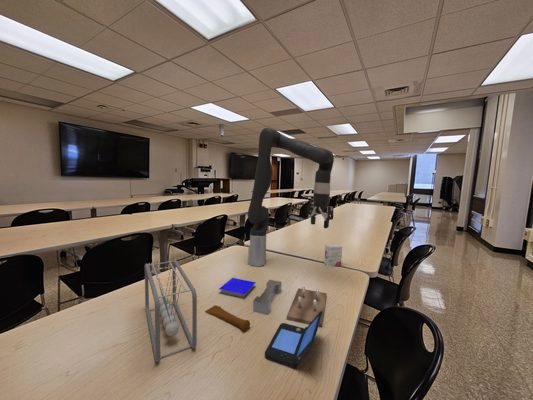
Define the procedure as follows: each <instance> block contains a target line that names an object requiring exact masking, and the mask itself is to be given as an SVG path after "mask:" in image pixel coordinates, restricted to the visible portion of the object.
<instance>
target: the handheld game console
mask: <svg viewBox="0 0 533 400" xmlns="http://www.w3.org/2000/svg"><path fill="white" fill-rule="evenodd" d="M321 316H322V311H320V312H319V314H318V315H317V316H316V317H315V318H314V320H313V321H312V322H311V323H310V324H308V325H307V326H305V327H301V326H297V325H294V324H289V323H286V322H281V323H280V324H279V326H278V328H277V329H276V331H275V333H274V335H273V337H272V339H271V340H270V341H269V344H268V346H267V348H266V349H265V351H264V357H265V359H267V360H268V361H269V360H270V361H272V362H275V363H278V364H280V365H283V366H287V367H289V368H293V369H294V370H296V369H297V368H298V365H299V361H300V360H301V359H302V358H303V357H304V355H305V354H306V353H307V352H308V351H309V350H310V349H311V347H312V346H313V345H314V344H315V340H316V337H317V334H318V330H319V327H318V326H319V323H320V320H321Z"/></svg>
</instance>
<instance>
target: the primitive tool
mask: <svg viewBox="0 0 533 400" xmlns="http://www.w3.org/2000/svg"><path fill="white" fill-rule="evenodd" d="M204 313H206V314H208V315H210V316H213V317H215V318H217V319H220V320H222V321H225V322H226V323H229V324H232V325H234V326H236V327H238V328H240V329H241V331H242V332H244V333H245V332H247V331H248V330H249V329H250V327H251V322H250V320H249V319H243V318H240V317H239V316H238V317H237V316H236V315H234V314H232V313H230V312H228V311H226V310H225V309H224V308H222V307H221V306H220V305H216V304H215V305H213V306H211V307H209V309H206V310H205V311H204Z"/></svg>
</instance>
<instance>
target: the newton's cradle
mask: <svg viewBox="0 0 533 400" xmlns="http://www.w3.org/2000/svg"><path fill="white" fill-rule="evenodd" d="M162 264H163V265H164V264H169V265H170V267H169V266H168V267H165V269H166V268H170V269H169V271H167V273H169V275H168V276H165V278H167V277H168V278H167V280H166V283H167V285H166V287H163V285H162V284H163V283H164V281H162V282H161V280H160V279H161V278H163V276H162V277H159V272H157V268H155V266H156V265H162ZM150 266H152V268H153V271H154V274H155V277H156V280H157V282H158V287H159V291H160V294H161V295H160V296H159V294H158V291H157V288H156V284H155V282H154V277H153V275H152V272H151V269H150ZM160 269H161V270H162V269H163V267H160V268H159V270H160ZM176 269H177V271H178V272H179V274H180V275H181V277H182V278H183V280H184V281H185V284H186V285H187V287H188V288H189V289H186V287H185V285H184V284H183V282H182V280H181V279H180V276H179V274H178V273H177V272H176ZM171 272H172V273H171ZM162 273H165V271H162V272H161V274H162ZM170 277H171V279H170ZM169 279H170V280H169ZM170 281H171V282H170ZM169 282H170V284H169ZM178 283H180V284H179V289H178V291H177V288H178V287H177V286H178V285H177V284H178ZM168 285H169V286H168ZM171 285H172V286H171ZM181 286H182V288H183V289H184V290H183V291H181ZM149 287H150V289H151V293H152V297H153V301H154V308H150V299H149V298H150V297H149V296H150V293H149V291H150V290H149ZM168 288H169V289H168ZM171 288H172V290H171V291H172V293H170V289H171ZM164 289H165V291H164ZM167 289H168V294H167ZM189 292H190V293H191V296H192V297H191V298H192V304H191V305H192V306H191V307H192V308H191V309H192V312H191V313H192V315H191V316H192V328H191V329H192V333H190V329H189V328H188V325H187V323H186V320H185V319H184V316H183V314H182V312H181V309H180V307H179V305H178V302H179V299H177V298H179V296H180V294H184V293H189ZM176 296H177V297H176ZM197 296H198V295H197V290H196V288H195V286H194V285H193V284H192V282H191V280H190V279H189V278H188V276H187V274H186V272H184V270H183V267H181V265H180V264H179V262H178V261H177V259H173V260H170V261H165V262H157V263H151V264H150V263H149V264H148V263H145V264H144V299H145V300H144V301H145V302H144V305H145V306H144V308H145V312H146V313H145V314H146V318H147V323H148V330H149V335H150V340H151V341H150V342H151V344H152V350H153V351H152V352H153V357H154V362H156V363H158V362H160V360H161V358H163V357H166V356H168V355H172V354H174V353H177V352H180V351H182V350H186V349H188V348H191V349H193V350H194V349H195V348H196V347H197V344H198V342H197V341H198V340H197V336H198V335H197V334H198V333H197V332H198V331H197V330H198V329H197V327H198V326H197V322H198V320H197V317H198V315H197V314H198V313H197V311H198V308H197V307H198V306H197V305H198V302H197V301H198V299H197V298H198V297H197ZM169 297H170V299H169ZM171 302H173V303H171ZM173 308H175V310H173ZM153 310H154V324H153V321H152V315H151V311H153ZM176 314H177V316H178V318H179V321H180V323H181V326H182V328H183V330H184V333H185V335H186V338H187V340H188V343H189V345H186V346H185V347H181V348H178V349H175V350H173V351H171V352H168V353H165V354H161V320H162V321H163V322H162V323H163V327H164V328H165V329H164V330H165V331H164V332H165V334H166V335H167V336H169V337H174V336H176V334H178V332H179V329H180V325H179V323H178V322H177V318H176ZM153 325H154V326H153ZM154 329H155V330H154Z"/></svg>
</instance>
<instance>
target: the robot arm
mask: <svg viewBox="0 0 533 400" xmlns="http://www.w3.org/2000/svg"><path fill="white" fill-rule="evenodd" d="M258 136H259V139H258V155H257V161H256V169H255V174H254V183H253V187H252V188H253V189H252V193H251V198H250V202H249V207H248V211H247V219H248V221H249V222H250V223H251V224H253V226H252V227H251V228H250V230H249V247H248V253H247V254H248V255H247V259H248V260H247V264H248V265H250V264H251V265H250V266H252V265H253V266H252V267H257V266H259V267H263V266H262V265H264V264H265V265H266V261H267V260H266V258H267V257H266V256H267V233H268V232H267V231H268V229H269V222H270V221H269V217H270V213H269V210H268V208H267V207H266V206H265V205H264V206H263V201H264V198H265V196H266V195H267V193H268V191H269V190H270V188H271V184H272V181H273V173H274V172H273V166H272V161H271V152H272V148H275V149H277V148H278V149H282V150H285V151H288V152H289V153H291V154H294V155H296V156H298V157H301V158H303V159H306V160H309V161H312V162H314V163H316V164H318V169H317V170H316V172H315V175H314V176H315V178H314V185H313V194H312V195H313V196H312V202H309V203H308V210H307V211H308V213H307V215H308V216H310V224H311V225H316V219H317V217H316V216H317V215H321V216H322V217H323V228H324V229H329V225H330V221H331V220H332V221H333V219H334V211H335V210H334V208H335V207H334V206H330V205H329V203H330V197H331V178H332V177H331V174H332V170H333V166H334V162H335V160H334V159H335V158H334V157H335V155H334V153H333V152H332V151H331V150H329V149H326V148H323V147H319V146H315V145H313V144H311V143H308V142H305V141H302V140H298V139H294V138H290V137H288V136H286V135H285V134H282V133H281V132H279V131H278V130H275V129H273V128H270V127H264V128H263V129H262V130H261V131H260V133H259V135H258ZM265 265H264V266H265Z"/></svg>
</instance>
